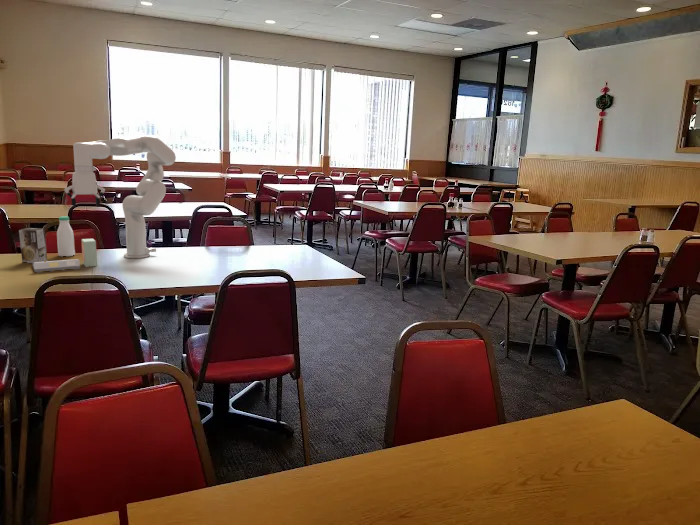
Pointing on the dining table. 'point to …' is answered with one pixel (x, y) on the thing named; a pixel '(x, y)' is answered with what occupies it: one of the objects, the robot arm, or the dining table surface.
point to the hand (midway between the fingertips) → (86, 206)
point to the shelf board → (56, 265)
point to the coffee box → (33, 245)
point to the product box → (89, 252)
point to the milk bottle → (65, 238)
